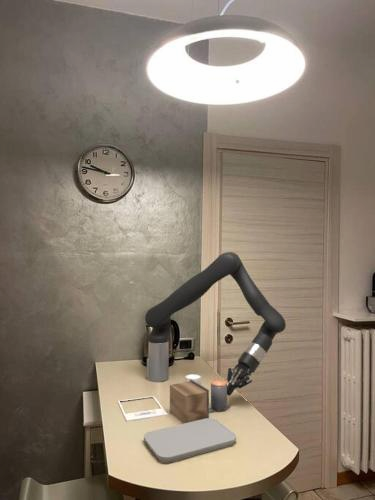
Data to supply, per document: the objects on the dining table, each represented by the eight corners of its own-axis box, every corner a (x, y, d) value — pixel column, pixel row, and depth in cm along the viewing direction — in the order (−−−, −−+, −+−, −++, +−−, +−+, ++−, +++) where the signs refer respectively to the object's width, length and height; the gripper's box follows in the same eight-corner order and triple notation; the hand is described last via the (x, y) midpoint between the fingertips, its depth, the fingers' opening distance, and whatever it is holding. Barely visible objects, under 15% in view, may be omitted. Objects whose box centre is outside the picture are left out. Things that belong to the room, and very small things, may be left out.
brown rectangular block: (218, 400, 145) (218, 373, 146) (237, 412, 135) (237, 383, 135) (169, 412, 135) (169, 383, 135) (186, 426, 124) (186, 394, 124)
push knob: (220, 402, 142) (220, 378, 142) (230, 407, 137) (230, 383, 137) (207, 405, 139) (207, 380, 139) (216, 411, 134) (216, 385, 134)
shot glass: (181, 394, 152) (181, 377, 152) (189, 389, 158) (189, 372, 158) (196, 397, 148) (196, 380, 149) (204, 392, 155) (204, 375, 155)
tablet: (140, 440, 116) (140, 433, 116) (212, 423, 127) (212, 416, 127) (161, 467, 101) (161, 459, 101) (240, 445, 113) (240, 438, 113)
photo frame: (126, 419, 127) (117, 400, 144) (126, 423, 127) (117, 403, 144) (167, 413, 133) (154, 395, 149) (167, 416, 132) (154, 398, 149)
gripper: (236, 347, 151) (211, 382, 144) (257, 355, 139) (231, 394, 133) (246, 358, 153) (222, 394, 147) (268, 367, 142) (243, 406, 136)
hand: (226, 394), depth 140 cm, fingers closed
